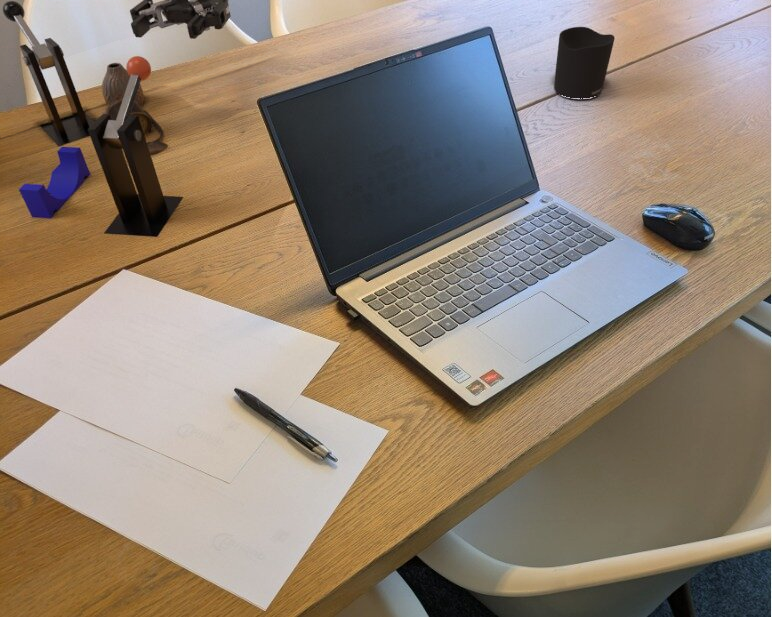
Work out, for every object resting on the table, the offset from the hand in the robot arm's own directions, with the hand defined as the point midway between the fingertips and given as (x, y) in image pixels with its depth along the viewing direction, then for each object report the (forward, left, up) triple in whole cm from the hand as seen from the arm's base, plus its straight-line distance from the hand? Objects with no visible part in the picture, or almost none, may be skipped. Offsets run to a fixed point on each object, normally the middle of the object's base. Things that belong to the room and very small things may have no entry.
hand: (163, 31), depth 97 cm
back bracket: (-13, +21, -20) cm, 32 cm away
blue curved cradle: (-22, +1, -20) cm, 30 cm away
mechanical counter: (-6, +9, -20) cm, 23 cm away
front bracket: (-14, -13, -20) cm, 28 cm away
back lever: (-13, +26, -5) cm, 30 cm away
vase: (-2, +23, -20) cm, 31 cm away
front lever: (-10, -9, -5) cm, 15 cm away
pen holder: (+65, -27, -20) cm, 73 cm away
